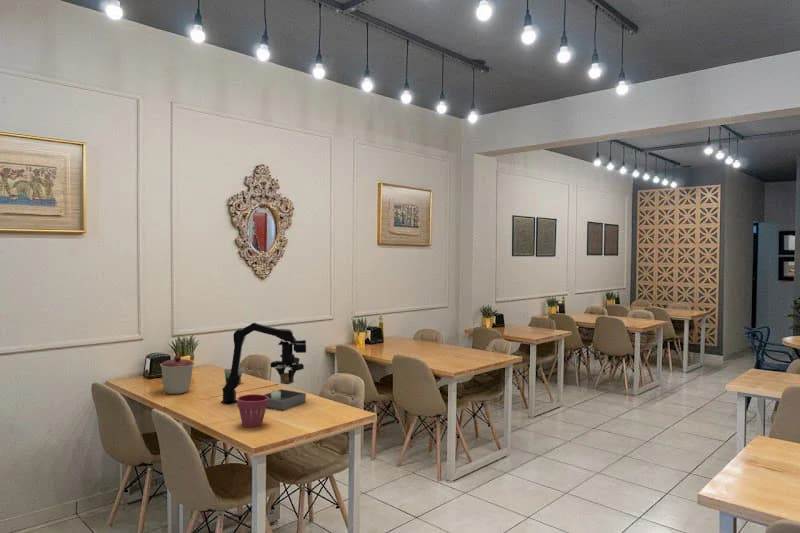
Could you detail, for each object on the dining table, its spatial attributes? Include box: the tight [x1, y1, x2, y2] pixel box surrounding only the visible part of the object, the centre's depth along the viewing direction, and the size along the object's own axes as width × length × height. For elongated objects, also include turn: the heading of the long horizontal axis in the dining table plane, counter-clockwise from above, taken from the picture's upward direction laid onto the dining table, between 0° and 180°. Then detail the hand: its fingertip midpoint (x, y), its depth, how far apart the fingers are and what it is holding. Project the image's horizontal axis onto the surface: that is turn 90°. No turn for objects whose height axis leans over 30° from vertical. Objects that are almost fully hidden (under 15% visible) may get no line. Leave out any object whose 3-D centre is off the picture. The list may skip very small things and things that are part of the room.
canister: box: [159, 355, 195, 395], centre depth 311 cm, size 18×18×21 cm
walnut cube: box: [279, 372, 294, 385], centre depth 297 cm, size 5×5×5 cm
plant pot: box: [236, 393, 269, 428], centre depth 256 cm, size 14×14×13 cm
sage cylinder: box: [270, 389, 281, 400], centre depth 288 cm, size 5×5×7 cm
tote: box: [263, 388, 307, 412], centre depth 293 cm, size 20×17×5 cm
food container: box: [223, 365, 244, 385], centre depth 334 cm, size 12×6×10 cm, turn 143°
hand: (286, 381), depth 297 cm, fingers closed on walnut cube, 5 cm apart
